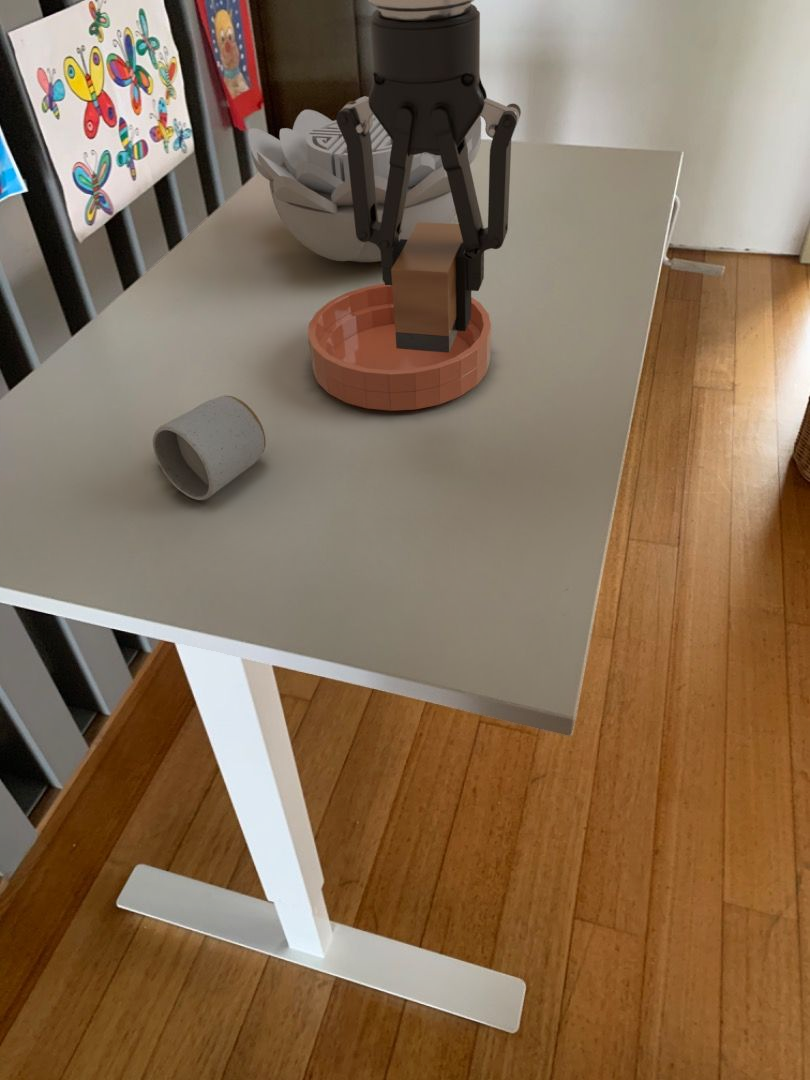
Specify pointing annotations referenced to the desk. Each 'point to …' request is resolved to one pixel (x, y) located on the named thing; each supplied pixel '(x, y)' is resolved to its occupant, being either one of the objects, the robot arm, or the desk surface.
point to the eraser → (427, 288)
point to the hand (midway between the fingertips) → (434, 320)
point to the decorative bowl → (345, 184)
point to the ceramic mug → (209, 446)
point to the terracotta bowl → (391, 355)
